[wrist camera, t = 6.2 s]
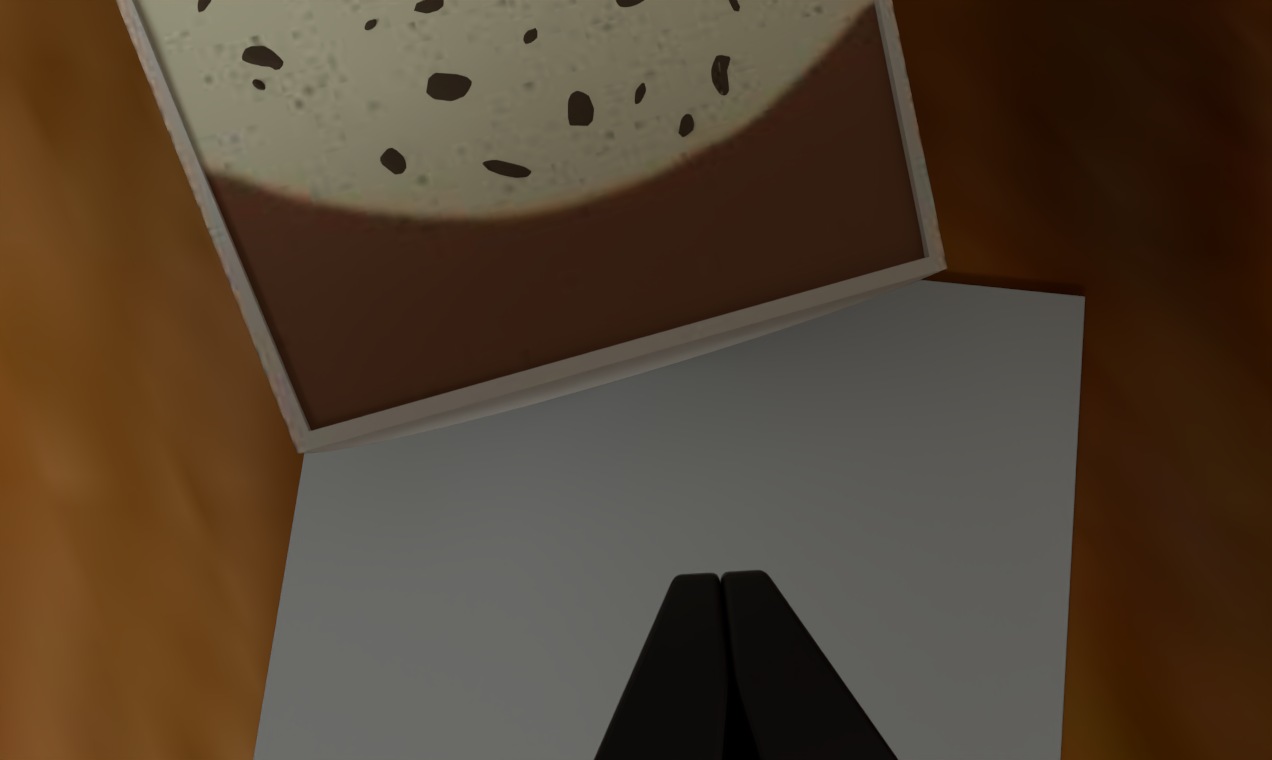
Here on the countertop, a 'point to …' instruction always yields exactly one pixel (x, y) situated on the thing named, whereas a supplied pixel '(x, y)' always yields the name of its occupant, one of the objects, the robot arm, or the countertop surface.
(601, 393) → the slate mat
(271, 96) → the food container
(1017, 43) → the countertop surface
